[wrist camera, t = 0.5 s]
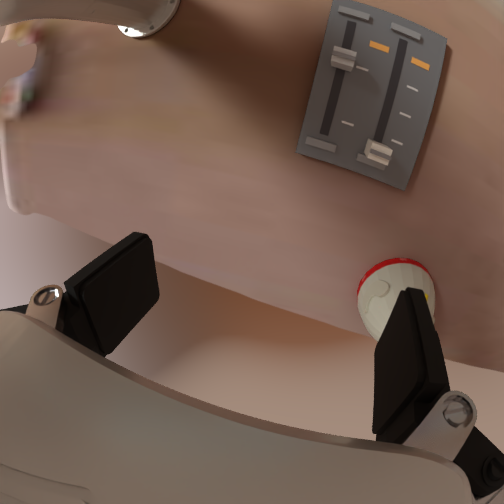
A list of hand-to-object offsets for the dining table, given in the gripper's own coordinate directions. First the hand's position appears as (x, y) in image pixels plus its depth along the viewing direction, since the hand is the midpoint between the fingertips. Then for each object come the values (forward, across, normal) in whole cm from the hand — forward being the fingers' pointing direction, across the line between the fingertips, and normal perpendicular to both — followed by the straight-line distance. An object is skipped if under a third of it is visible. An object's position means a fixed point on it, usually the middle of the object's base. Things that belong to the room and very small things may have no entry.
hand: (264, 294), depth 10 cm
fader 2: (+30, -7, -3) cm, 31 cm away
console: (+32, -6, -11) cm, 34 cm away
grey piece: (+33, -16, +20) cm, 42 cm away
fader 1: (+30, -1, -14) cm, 33 cm away
